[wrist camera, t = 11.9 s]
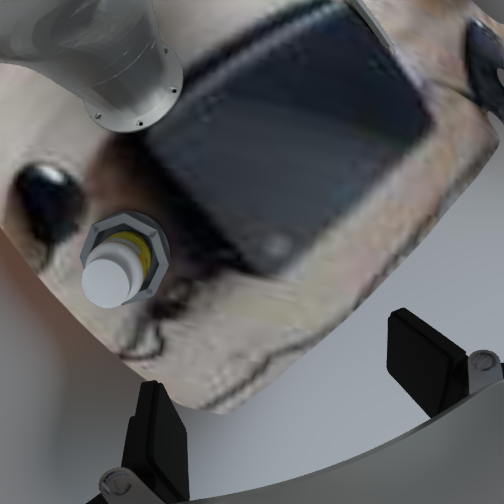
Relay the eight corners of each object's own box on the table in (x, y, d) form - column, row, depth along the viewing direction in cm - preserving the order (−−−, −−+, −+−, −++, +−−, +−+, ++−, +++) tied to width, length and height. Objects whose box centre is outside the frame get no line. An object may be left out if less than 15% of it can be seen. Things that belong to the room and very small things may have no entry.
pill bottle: (138, 286, 36) (119, 328, 26) (97, 260, 34) (64, 293, 24) (163, 246, 35) (150, 275, 25) (120, 218, 34) (90, 237, 23)
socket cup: (80, 226, 34) (69, 231, 30) (155, 199, 35) (150, 202, 31) (108, 300, 37) (101, 312, 33) (181, 279, 38) (179, 290, 34)
